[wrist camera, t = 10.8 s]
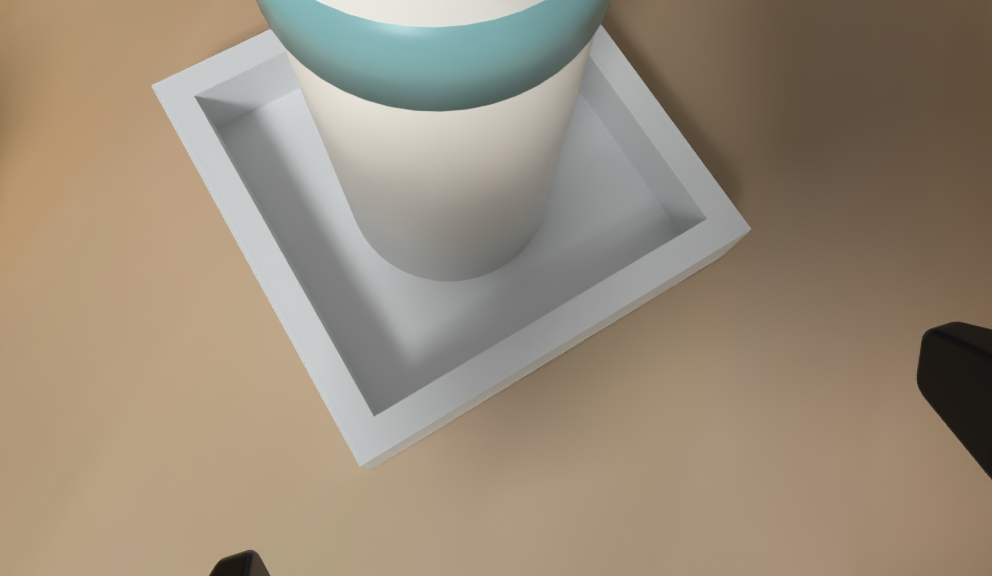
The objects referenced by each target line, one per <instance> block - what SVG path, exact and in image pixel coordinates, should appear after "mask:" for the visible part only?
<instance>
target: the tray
mask: <svg viewBox="0 0 992 576" xmlns="http://www.w3.org/2000/svg"><path fill="white" fill-rule="evenodd" d="M151 86H152V88H153V90H154V92H155V93H156V95H157V97H158V99H159V101H160V103H161V104H162V106H163V108H164V110H165V112H166V114H167V115H168V117H169V119H170V121H171V123H172V124H173V126H174V128H175V130H176V132H177V134H178V135H179V137H180V139H181V141H182V143H183V145H184V146H185V148H186V150H187V152H188V154H189V156H190V157H191V159H192V161H193V163H194V165H195V166H196V168H197V170H198V172H199V174H200V176H201V177H202V179H203V181H204V183H205V185H206V187H207V188H208V190H209V192H210V194H211V196H212V198H213V199H214V201H215V203H216V205H217V207H218V209H219V210H220V212H221V214H222V216H223V218H224V219H225V221H226V223H227V225H228V227H229V229H230V230H231V232H232V234H233V236H234V238H235V240H236V241H237V243H238V245H239V247H240V249H241V251H242V252H243V254H244V256H245V258H246V260H247V261H248V263H249V265H250V267H251V269H252V271H253V272H254V274H255V276H256V278H257V280H258V282H259V283H260V285H261V287H262V289H263V291H264V293H265V294H266V296H267V298H268V300H269V302H270V304H271V305H272V307H273V309H274V311H275V313H276V314H277V316H278V318H279V320H280V322H281V324H282V325H283V327H284V329H285V331H286V333H287V335H288V336H289V338H290V340H291V342H292V344H293V346H294V347H295V349H296V351H297V353H298V355H299V356H300V358H301V360H302V362H303V364H304V366H305V367H306V369H307V371H308V373H309V375H310V377H311V378H312V380H313V382H314V384H315V386H316V388H317V389H318V391H319V393H320V395H321V397H322V399H323V400H324V402H325V404H326V406H327V408H328V409H329V411H330V413H331V415H332V417H333V419H334V420H335V422H336V424H337V426H338V428H339V430H340V431H341V433H342V435H343V437H344V439H345V441H346V442H347V444H348V446H349V448H350V450H351V451H352V453H353V455H354V457H355V459H356V461H357V462H358V464H359V466H360V467H364V468H369V469H373V468H375V467H377V466H378V465H380V464H382V463H383V462H385V461H387V460H388V459H390V458H392V457H393V456H395V455H396V454H398V453H400V452H401V451H403V450H405V449H406V448H408V447H410V446H411V445H413V444H415V443H416V442H418V441H419V440H421V439H423V438H424V437H426V436H428V435H429V434H431V433H433V432H434V431H436V430H438V429H439V428H441V427H442V426H444V425H446V424H447V423H449V422H451V421H452V420H454V419H456V418H457V417H459V416H461V415H462V414H464V413H466V412H467V411H469V410H470V409H472V408H474V407H475V406H477V405H479V404H480V403H482V402H484V401H485V400H487V399H489V398H490V397H492V396H493V395H495V394H497V393H498V392H500V391H502V390H503V389H505V388H507V387H508V386H510V385H512V384H513V383H515V382H516V381H518V380H520V379H521V378H523V377H525V376H526V375H528V374H530V373H531V372H533V371H535V370H536V369H538V368H539V367H541V366H543V365H544V364H546V363H548V362H549V361H551V360H553V359H554V358H556V357H558V356H559V355H561V354H563V353H564V352H566V351H567V350H569V349H571V348H572V347H574V346H576V345H577V344H579V343H581V342H582V341H584V340H586V339H587V338H589V337H590V336H592V335H594V334H595V333H597V332H599V331H600V330H602V329H604V328H605V327H607V326H609V325H610V324H612V323H613V322H615V321H617V320H618V319H620V318H622V317H623V316H625V315H627V314H628V313H630V312H632V311H633V310H635V309H636V308H638V307H640V306H641V305H643V304H645V303H646V302H648V301H650V300H651V299H653V298H655V297H656V296H658V295H659V294H661V293H663V292H664V291H666V290H668V289H669V288H671V287H673V286H674V285H676V284H678V283H679V282H681V281H683V280H684V279H686V278H687V277H689V276H691V275H692V274H694V273H696V272H697V271H699V270H701V269H702V268H704V267H706V266H707V265H709V264H710V263H712V262H714V261H715V260H717V259H719V258H720V257H722V256H723V255H724V254H725V253H726V252H727V251H728V250H729V249H730V248H732V247H733V246H734V245H735V244H736V243H737V242H738V241H739V240H740V239H742V238H743V237H744V236H745V235H746V234H747V233H748V232H749V231H750V230H752V229H751V228H750V227H749V225H748V224H747V222H746V221H745V220H744V218H743V217H742V216H741V214H740V213H739V212H738V210H737V209H736V207H735V206H734V205H733V203H732V202H731V201H730V199H729V198H728V197H727V195H726V194H725V192H724V191H723V190H722V188H721V187H720V186H719V184H718V183H717V182H716V180H715V179H714V177H713V176H712V175H711V173H710V172H709V171H708V169H707V168H706V167H705V165H704V164H703V162H702V161H701V160H700V158H699V157H698V156H697V154H696V153H695V152H694V150H693V149H692V147H691V146H690V145H689V143H688V142H687V141H686V139H685V138H684V137H683V135H682V134H681V132H680V131H679V130H678V128H677V127H676V126H675V124H674V123H673V122H672V120H671V119H670V117H669V116H668V115H667V113H666V112H665V111H664V109H663V108H662V107H661V105H660V104H659V102H658V101H657V100H656V98H655V97H654V96H653V94H652V93H651V92H650V90H649V89H648V87H647V86H646V85H645V83H644V82H643V81H642V79H641V78H640V77H639V75H638V74H637V72H636V71H635V70H634V68H633V67H632V66H631V64H630V63H629V62H628V60H627V59H626V57H625V56H624V55H623V53H622V52H621V51H620V49H619V48H618V47H617V45H616V44H615V42H614V41H613V40H612V38H611V37H610V36H609V34H608V33H607V32H606V30H605V29H604V27H603V26H602V25H600V26H599V28H598V29H597V31H596V32H595V35H594V39H593V42H592V46H591V49H590V53H589V56H588V60H587V63H586V67H585V70H584V74H583V77H582V81H581V84H580V88H579V91H578V95H577V98H576V102H575V105H574V109H573V112H572V116H571V119H570V123H569V126H568V130H567V133H566V137H565V140H564V144H563V147H562V151H561V154H560V158H559V161H558V165H557V168H556V172H555V175H554V179H553V182H552V186H551V189H550V193H549V196H548V200H547V203H546V207H545V210H544V214H543V217H542V220H541V223H540V225H539V227H538V229H537V231H536V233H535V235H534V236H533V238H532V239H531V241H530V242H529V243H528V245H527V246H526V247H525V248H524V249H523V251H522V252H520V253H519V254H518V255H517V256H516V257H515V258H514V259H513V260H511V261H510V262H508V263H507V264H506V265H504V266H503V267H501V268H499V269H497V270H495V271H493V272H491V273H489V274H486V275H483V276H481V277H477V278H473V279H469V280H462V281H435V280H428V279H424V278H420V277H417V276H413V275H411V274H408V273H406V272H404V271H401V270H400V269H398V268H396V267H395V266H393V265H391V264H390V263H388V262H387V261H386V260H384V259H383V258H382V257H381V256H379V255H378V253H377V252H376V251H375V250H374V249H373V248H372V247H371V246H370V245H369V243H368V242H367V241H366V239H365V238H364V237H363V235H362V233H361V231H360V229H359V227H358V226H357V223H356V221H355V218H354V216H353V214H352V211H351V209H350V206H349V204H348V201H347V199H346V197H345V194H344V192H343V189H342V187H341V185H340V182H339V180H338V177H337V175H336V173H335V170H334V168H333V165H332V163H331V160H330V158H329V156H328V153H327V151H326V148H325V146H324V144H323V141H322V139H321V136H320V134H319V132H318V129H317V127H316V124H315V122H314V119H313V117H312V115H311V112H310V110H309V107H308V105H307V103H306V100H305V98H304V95H303V93H302V91H301V88H300V86H299V83H298V81H297V78H296V76H295V74H294V71H293V69H292V66H291V64H290V62H289V59H288V57H287V54H286V52H285V50H284V47H283V45H282V43H281V42H280V40H279V39H278V38H277V36H276V35H275V34H274V32H273V31H272V30H271V29H269V30H267V31H265V32H263V33H261V34H259V35H257V36H254V37H252V38H250V39H248V40H246V41H244V42H242V43H240V44H238V45H236V46H233V47H231V48H229V49H227V50H225V51H223V52H221V53H219V54H217V55H214V56H212V57H210V58H208V59H206V60H204V61H202V62H200V63H198V64H196V65H193V66H191V67H189V68H187V69H185V70H183V71H181V72H179V73H177V74H174V75H172V76H170V77H168V78H166V79H164V80H162V81H160V82H158V83H155V84H153V85H151Z"/></svg>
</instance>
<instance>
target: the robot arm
mask: <svg viewBox="0 0 992 576" xmlns="http://www.w3.org/2000/svg"><path fill="white" fill-rule="evenodd" d="M917 384H918V387H919V390H920V391H921V393H922V395H923V396H924V398H925V399H926V400H927V401H928V403H929V404H930V405H931V406H932V408H933V409H934V410H935V411H936V412H937V414H938V415H939V416H940V417H941V419H942V420H943V421H944V422H945V423H946V425H947V426H948V427H949V428H950V430H951V431H952V432H953V433H954V434H955V436H956V437H957V438H958V439H959V441H960V442H961V443H962V444H963V445H964V447H965V448H966V449H967V450H968V452H969V453H970V454H971V455H972V456H973V458H974V459H975V460H976V461H977V463H978V464H979V465H980V466H981V467H982V469H983V470H984V471H985V472H986V473H987V475H988V476H989V477H990V478H991V479H992V329H987V328H983V327H979V326H975V325H971V324H967V323H963V322H950V323H947V324H944V325H940V326H937V327H934V328H931V329H929V330H927V331H926V332H925V334H924V335H923V337H922V341H921V348H920V355H919V362H918V369H917ZM209 576H270V574H269V572H268V571H267V569H266V567H265V565H264V563H263V561H262V559H261V557H260V556H259V554H258V553H257V552H255V551H254V550H247V551H244V552H241V553H237V554H234V555H231V556H228V557H225V558H223V559H221V560H220V561H219V562H218V563H217V564H216V565H215V567H214V568H213V570H212V572H211V573H210V575H209Z"/></svg>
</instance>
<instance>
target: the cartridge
mask: <svg viewBox="0 0 992 576" xmlns="http://www.w3.org/2000/svg"><path fill="white" fill-rule="evenodd" d="M257 3H258V5H259V7H260V10H261V12H262V13H263V15H264V17H265V19H266V21H267V23H268V24H269V26H270V28H271V30H272V31H273V32H274V34H275V35H276V36H277V38H278V39H279V40H280V42H281V43H282V45H283V47H284V50H285V52H286V54H287V57H288V59H289V62H290V64H291V66H292V69H293V71H294V74H295V76H296V78H297V81H298V83H299V86H300V88H301V91H302V93H303V95H304V98H305V100H306V103H307V105H308V107H309V110H310V112H311V115H312V117H313V119H314V122H315V124H316V127H317V129H318V132H319V134H320V136H321V139H322V141H323V144H324V146H325V148H326V151H327V153H328V156H329V158H330V160H331V163H332V165H333V168H334V170H335V173H336V175H337V177H338V180H339V182H340V185H341V187H342V189H343V192H344V194H345V197H346V199H347V201H348V204H349V206H350V209H351V211H352V214H353V216H354V218H355V221H356V223H357V226H358V227H359V229H360V231H361V233H362V235H363V237H364V238H365V239H366V241H367V242H368V243H369V245H370V246H371V247H372V248H373V249H374V250H375V251H376V252H377V253H378V255H379V256H381V257H382V258H383V259H384V260H386V261H387V262H388V263H390V264H391V265H393V266H395V267H396V268H398V269H400V270H401V271H404V272H406V273H408V274H411V275H413V276H417V277H420V278H424V279H428V280H435V281H462V280H469V279H473V278H477V277H481V276H483V275H486V274H489V273H491V272H493V271H495V270H497V269H499V268H501V267H503V266H504V265H506V264H507V263H508V262H510V261H511V260H513V259H514V258H515V257H516V256H517V255H518V254H519V253H520V252H522V251H523V249H524V248H525V247H526V246H527V245H528V243H529V242H530V241H531V239H532V238H533V236H534V235H535V233H536V231H537V229H538V227H539V225H540V223H541V220H542V217H543V214H544V210H545V207H546V203H547V200H548V196H549V193H550V189H551V186H552V182H553V179H554V175H555V172H556V168H557V165H558V161H559V158H560V154H561V151H562V147H563V144H564V140H565V137H566V133H567V130H568V126H569V123H570V119H571V116H572V112H573V109H574V105H575V102H576V98H577V95H578V91H579V88H580V84H581V81H582V77H583V74H584V70H585V67H586V63H587V60H588V56H589V53H590V49H591V46H592V42H593V39H594V35H595V32H596V31H597V29H598V28H599V26H600V25H601V23H602V21H603V19H604V17H605V14H606V12H607V10H608V8H609V6H610V3H611V0H257Z"/></svg>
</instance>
